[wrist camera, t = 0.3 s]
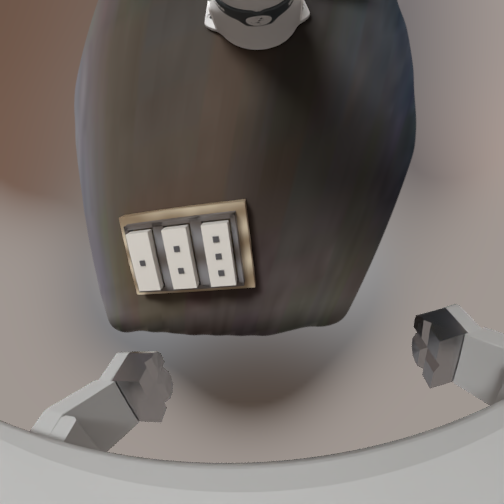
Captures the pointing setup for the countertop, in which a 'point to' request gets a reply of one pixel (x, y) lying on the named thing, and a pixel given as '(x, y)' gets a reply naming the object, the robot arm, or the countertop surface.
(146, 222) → the key panel
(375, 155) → the countertop surface
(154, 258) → the key one
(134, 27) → the countertop surface
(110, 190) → the countertop surface
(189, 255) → the key two
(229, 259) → the key three
